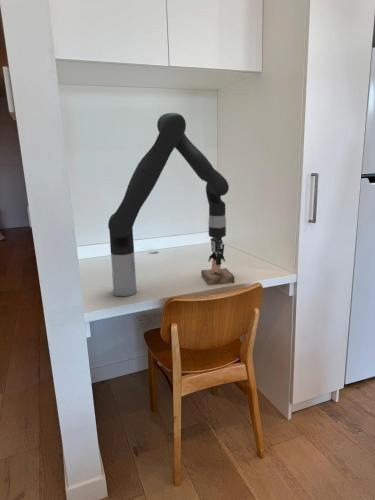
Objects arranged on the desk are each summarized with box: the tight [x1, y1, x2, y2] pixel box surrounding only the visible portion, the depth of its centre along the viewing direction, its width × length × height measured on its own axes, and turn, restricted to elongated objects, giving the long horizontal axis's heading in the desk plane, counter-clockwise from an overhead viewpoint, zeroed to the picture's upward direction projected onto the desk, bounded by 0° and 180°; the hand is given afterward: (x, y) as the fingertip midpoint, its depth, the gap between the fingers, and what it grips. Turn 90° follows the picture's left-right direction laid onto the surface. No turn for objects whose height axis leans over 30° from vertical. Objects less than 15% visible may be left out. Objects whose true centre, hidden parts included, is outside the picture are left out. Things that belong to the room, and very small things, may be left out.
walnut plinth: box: [200, 267, 235, 286], centre depth 155 cm, size 12×12×3 cm
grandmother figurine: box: [207, 247, 226, 274], centre depth 153 cm, size 8×4×13 cm, turn 88°
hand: (217, 263), depth 153 cm, fingers open, 4 cm apart
